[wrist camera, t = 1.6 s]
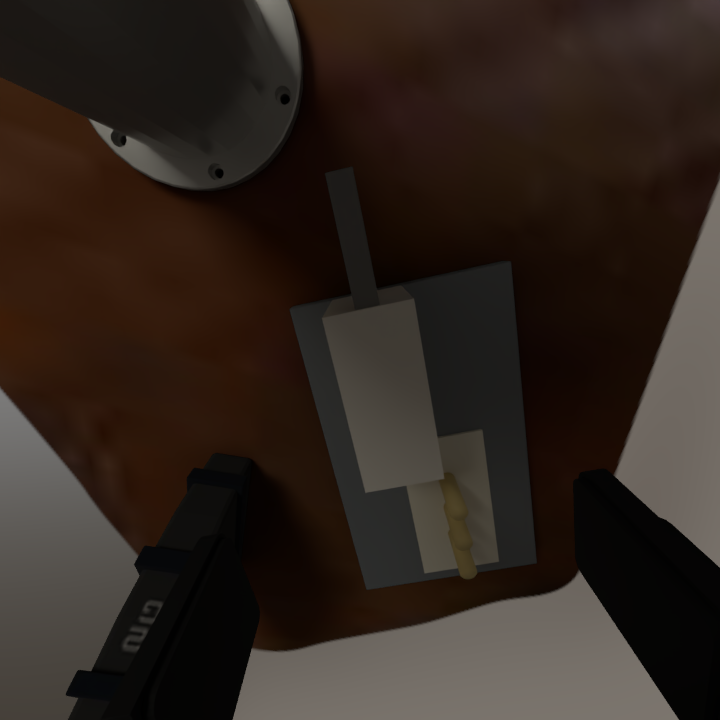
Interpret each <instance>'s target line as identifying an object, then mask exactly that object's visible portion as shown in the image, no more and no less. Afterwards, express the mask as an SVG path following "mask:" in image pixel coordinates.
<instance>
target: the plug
mask: <svg viewBox="0 0 720 720" xmlns="http://www.w3.org/2000/svg"><path fill="white" fill-rule="evenodd" d="M325 176H326V181H327V185H328V190H329V194H330V199H331V203H332V208H333V212H334V217H335V222H336V226H337V231H338V235H339V240H340V244H341V249H342V253H343V258H344V262H345V267H346V271H347V276H348V281H349V285H350V290H351V294H352V296H349V297H344V298H340V299H335V300H332V301H331V303H330V305H329V307H328V308H327V310H326V312H325V314H324V315H323V317H322V321H323V325H324V329H325V333H326V337H327V341H328V345H329V349H330V353H331V357H332V361H333V365H334V369H335V373H336V377H337V381H338V385H339V389H340V393H341V397H342V401H343V405H344V409H345V413H346V417H347V421H348V425H349V429H350V433H351V437H352V441H353V445H354V449H355V453H356V457H357V461H358V465H359V469H360V473H361V477H362V481H363V485H364V489H365V493H367V492H373V491H379V490H385V489H390V488H396V487H402V486H407V485H413V484H419V483H424V482H430V481H436V480H442V479H444V473H443V467H442V461H441V455H440V449H439V443H438V438H437V432H436V426H435V420H434V414H433V408H432V402H431V396H430V390H429V384H428V378H427V372H426V366H425V361H424V355H423V349H422V343H421V337H420V331H419V325H418V319H417V313H416V307H415V301H414V298H413V297H412V296H411V295H410V294H409V293H408V292H407V291H406V290H405V289H404V288H403V287H402V286H401V285H400V286H395V287H391V288H386V289H381V290H377V288H376V283H375V278H374V273H373V268H372V263H371V258H370V253H369V247H368V242H367V237H366V232H365V227H364V222H363V217H362V212H361V207H360V202H359V197H358V192H357V187H356V182H355V177H354V172H353V167H348V168H343V169H339V170H335V171H331V172H327V173H325Z"/></svg>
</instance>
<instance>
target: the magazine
mask: <svg viewBox="0 0 720 720" xmlns="http://www.w3.org/2000/svg"><path fill="white" fill-rule="evenodd" d="M251 466H252V462H251V459H249V458H243V457H237V456H231V455H225V454H219V453H215V454H213V455H212V456H211V458H210V459H209V461H208V462H207V464H206V465H205V467H204V468H203V469H198V468H194V469H193V470H192V471H191V473H190V474H189V476H188V477H187V494H186V496H185V497H184V499H183V500H182V502H181V503H180V505H179V507H178V508H177V510H176V511H175V513H174V515H173V517H172V518H171V520H170V522H169V524H168V525H167V527H166V529H165V531H164V533H163V534H162V536H161V538H160V540H159V541H158V543H157V545H156V547H151V546H144V548H143V549H142V551H141V553H140V555H139V556H138V558H137V560H136V562H135V564H134V565H135V567H136V569H137V571H138V573H139V575H140V576H139V578H138V580H137V582H136V584H135V586H134V587H133V589H132V591H131V593H130V595H129V597H128V599H127V601H126V602H125V604H124V606H123V608H122V610H121V612H120V613H119V615H118V617H117V619H116V621H115V623H114V625H113V627H112V629H111V632H110V634H109V636H108V638H107V640H106V642H105V644H104V646H103V648H102V650H101V652H100V654H99V656H98V659H97V660H96V663H95V665H94V667H93V669H92V671H83V670H78V671H77V673H76V674H75V677H74V678H73V680H72V682H71V684H70V686H69V688H68V690H67V692H66V695H67V696H71V697H76V698H78V700H77V702H76V704H75V706H74V708H73V711H72V712H71V715H70V717H69V719H68V720H101V717H102V715H103V713H104V712H105V710H106V708H107V706H108V704H109V702H110V701H111V699H112V697H113V695H114V693H115V691H116V690H117V688H118V686H119V684H120V682H121V681H122V679H123V677H124V675H125V673H126V671H127V670H128V668H129V666H130V664H131V662H132V660H133V659H134V657H135V655H136V653H137V651H138V649H139V648H140V646H141V644H142V642H143V640H144V638H145V637H146V635H147V633H148V631H149V629H150V627H151V626H152V624H153V622H154V620H155V618H156V616H157V615H158V613H159V611H160V609H161V607H162V605H163V604H164V602H165V600H166V598H167V596H168V595H169V593H170V591H171V589H172V587H173V585H174V584H175V582H176V580H177V578H178V576H179V574H180V573H181V571H182V569H183V567H184V565H185V563H186V562H187V560H188V558H189V556H190V554H191V552H192V551H193V549H194V547H195V545H196V543H197V541H198V540H199V539H200V538H201V537H202V536H208V535H214V534H219V533H223V534H224V535H225V536H226V537H227V538H231V539H232V541H233V543H234V546H235V548H236V551H237V553H238V556H239V558H240V561H241V556H242V547H243V538H244V529H245V520H246V511H247V502H248V493H249V484H250V475H251Z"/></svg>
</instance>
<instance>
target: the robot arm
mask: <svg viewBox="0 0 720 720" xmlns="http://www.w3.org/2000/svg"><path fill="white" fill-rule="evenodd" d="M303 73H304V61H303V54H302V47H301V39H300V34H299V31H298V27H297V23H296V20H295V16H294V13H293V10H292V7H291V5H290V2H289V0H0V77H1V78H3V79H6V80H8V81H10V82H12V83H14V84H16V85H18V86H21V87H23V88H25V89H27V90H29V91H31V92H33V93H36V94H38V95H40V96H42V97H44V98H46V99H48V100H51V101H53V102H55V103H57V104H59V105H61V106H63V107H66V108H68V109H70V110H72V111H74V112H76V113H78V114H81V115H83V116H85V117H87V118H88V120H89V121H90V123H91V124H92V126H93V127H94V129H95V130H96V132H97V133H98V135H99V136H100V137H101V138H102V139H103V140H104V141H105V143H106V144H107V145H108V146H109V147H110V148H111V149H112V150H113V151H114V152H115V154H117V155H118V156H119V157H120V158H122V159H123V160H124V161H125V162H127V163H128V164H129V165H130V166H132V167H133V168H134V169H136V170H137V171H139V172H141V173H143V174H145V175H146V176H148V177H150V178H152V179H154V180H156V181H159V182H162V183H164V184H167V185H170V186H173V187H178V188H182V189H186V190H190V191H216V190H221V189H227V188H231V187H234V186H236V185H238V184H241V183H243V182H245V181H248V180H250V179H251V178H252V177H254V176H255V175H257V174H258V173H259V172H261V171H262V170H264V169H265V168H266V167H267V166H268V165H269V164H270V163H271V161H272V160H273V159H274V158H275V157H276V156H277V155H278V154H279V153H280V151H281V149H282V148H283V146H284V144H285V143H286V141H287V139H288V138H289V136H290V134H291V132H292V129H293V126H294V124H295V121H296V118H297V116H298V113H299V108H300V103H301V97H302V92H303ZM284 97H289V98H290V102H289V103H288V104H286V105H283V104H282V100H283V98H284ZM126 139H127V142H126V144H125V140H126ZM220 170H223V172H224V175H223V177H222V178H221V179H220V178H219V177H218V172H219V171H220ZM573 493H574V528H575V558H576V562H577V565H578V568H579V570H580V572H581V573H582V575H583V576H584V578H585V579H586V581H587V583H588V584H589V586H590V587H591V588H592V590H593V592H594V593H595V595H596V596H597V597H598V599H599V600H600V602H601V603H602V605H603V606H604V608H605V609H606V611H607V612H608V614H609V615H610V617H611V618H612V620H613V621H614V623H615V624H616V626H617V627H618V629H619V630H620V632H621V633H622V635H623V636H624V638H625V639H626V641H627V642H628V644H629V645H630V647H631V648H632V650H633V651H634V653H635V654H636V656H637V657H638V659H639V660H640V662H641V663H642V665H643V666H644V668H645V669H646V671H647V672H648V674H649V675H650V677H651V678H652V680H653V681H654V683H655V684H656V686H657V687H658V689H659V690H660V692H661V693H662V695H663V696H664V698H665V699H666V701H667V702H668V704H669V705H670V707H671V708H672V710H673V711H674V713H675V714H676V716H677V717H678V719H679V720H720V568H719V567H718V566H717V565H716V564H715V563H714V562H713V561H712V560H711V559H710V558H708V557H707V556H706V555H705V554H704V553H703V552H702V551H701V550H700V549H698V548H697V547H696V546H695V545H694V544H693V543H692V542H691V541H690V540H689V539H688V538H686V537H685V536H684V535H683V534H682V533H681V532H680V531H679V530H678V529H676V528H675V527H674V526H673V525H672V524H671V523H669V522H668V521H667V520H664V519H662V518H660V517H658V516H657V515H656V514H655V513H654V512H652V510H650V509H649V508H648V507H647V506H646V505H645V504H644V503H643V502H642V501H641V500H639V499H638V498H637V497H636V496H635V495H634V494H633V493H632V492H631V491H630V490H629V489H628V488H627V487H625V486H624V485H623V484H622V483H621V482H620V481H619V480H618V479H617V478H616V477H615V476H613V475H612V474H611V473H610V472H609V471H608V470H606V469H597V470H591V471H585V472H581V473H580V474H579V479H575V480H574V482H573ZM259 616H260V611H259V606H258V603H257V601H256V598H255V596H254V593H253V591H252V588H251V586H250V583H249V581H248V578H247V576H246V573H245V571H244V568H243V566H242V563H241V561H240V558H239V556H238V553H237V551H236V548H235V546H234V543H233V541H232V539H231V538H227V537H226V536H225V535H224V534H223V533H219V534H214V535H208V536H202V537H201V538H200V539H199V540H198V541H197V543H196V545H195V547H194V549H193V551H192V552H191V554H190V556H189V558H188V560H187V562H186V563H185V565H184V567H183V569H182V571H181V573H180V574H179V576H178V578H177V580H176V582H175V584H174V585H173V587H172V589H171V591H170V593H169V595H168V596H167V598H166V600H165V602H164V604H163V605H162V607H161V609H160V611H159V613H158V615H157V616H156V618H155V620H154V622H153V624H152V626H151V627H150V629H149V631H148V633H147V635H146V637H145V638H144V640H143V642H142V644H141V646H140V648H139V649H138V651H137V653H136V655H135V657H134V659H133V660H132V662H131V664H130V666H129V668H128V670H127V671H126V673H125V675H124V677H123V679H122V681H121V682H120V684H119V686H118V688H117V690H116V691H115V693H114V695H113V697H112V699H111V701H110V702H109V704H108V706H107V708H106V710H105V712H104V713H103V715H102V717H101V720H232V719H233V716H234V712H235V709H236V705H237V701H238V697H239V694H240V690H241V686H242V683H243V679H244V675H245V671H246V667H247V664H248V660H249V657H250V653H251V649H252V645H253V642H254V638H255V634H256V630H257V627H258V623H259Z"/></svg>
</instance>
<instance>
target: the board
mask: <svg viewBox="0 0 720 720" xmlns="http://www.w3.org/2000/svg"><path fill="white" fill-rule="evenodd" d="M400 285H401V286H402V287H403V288H404V289H405V290H406V291H407V292H408V293H409V294H410V295H411V296H412V297H413V298H414V301H415V307H416V313H417V319H418V325H419V331H420V337H421V343H422V349H423V355H424V361H425V366H426V372H427V378H428V384H429V390H430V396H431V402H432V408H433V414H434V420H435V426H436V432H437V438H438V443H439V449H440V455H441V461H442V467H443V473H444V479H442V480H436V481H430V482H424V483H419V484H413V485H407V486H402V487H396V488H390V489H385V490H379V491H373V492H367V493H365V489H364V485H363V481H362V477H361V473H360V469H359V465H358V461H357V457H356V453H355V449H354V445H353V441H352V437H351V433H350V429H349V425H348V421H347V417H346V413H345V409H344V405H343V401H342V397H341V393H340V389H339V385H338V381H337V377H336V373H335V369H334V365H333V361H332V357H331V353H330V349H329V345H328V341H327V337H326V333H325V329H324V325H323V321H322V317H323V315H324V314H325V312H326V310H327V308H328V307H329V305H330V303H331V301H332V300H335V299H340V298H344V297H349V296H352V294H348V295H343V296H338V297H334V298H329V299H324V300H320V301H315V302H311V303H306V304H301V305H297V306H293V307H292V308H290V313H291V317H292V320H293V324H294V327H295V331H296V335H297V338H298V342H299V346H300V349H301V353H302V357H303V360H304V364H305V367H306V371H307V375H308V378H309V382H310V386H311V389H312V393H313V397H314V400H315V404H316V407H317V411H318V415H319V418H320V422H321V426H322V429H323V433H324V437H325V440H326V444H327V447H328V451H329V455H330V458H331V462H332V466H333V469H334V473H335V477H336V480H337V484H338V487H339V491H340V495H341V498H342V502H343V506H344V509H345V513H346V517H347V520H348V524H349V527H350V531H351V535H352V538H353V542H354V546H355V549H356V553H357V557H358V560H359V564H360V567H361V571H362V575H363V578H364V582H365V586H366V589H367V590H369V589H375V588H381V587H388V586H394V585H401V584H407V583H413V582H420V581H426V580H433V579H439V578H445V577H452V576H458V575H460V576H461V577H462V578H464V579H471V578H474V577H475V576H476V575H477V573H478V572H484V571H490V570H497V569H503V568H510V567H516V566H522V565H529V564H535V563H537V561H536V549H535V537H534V525H533V514H532V502H531V490H530V478H529V467H528V455H527V443H526V431H525V420H524V408H523V396H522V385H521V373H520V361H519V349H518V338H517V326H516V314H515V302H514V291H513V279H512V267H511V261H500V262H496V263H491V264H486V265H482V266H477V267H472V268H468V269H463V270H459V271H454V272H449V273H445V274H440V275H435V276H431V277H426V278H422V279H417V280H412V281H408V282H403V283H398V284H394V285H389V286H385V287H380V288H377V290H381V289H386V288H391V287H395V286H400Z"/></svg>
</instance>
